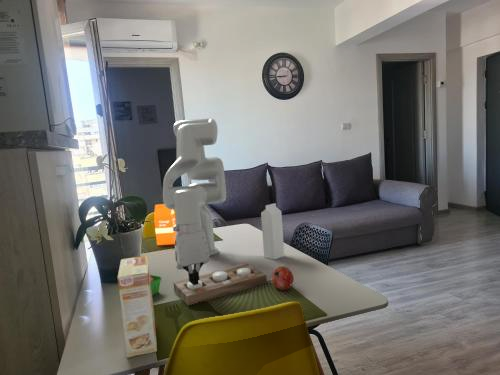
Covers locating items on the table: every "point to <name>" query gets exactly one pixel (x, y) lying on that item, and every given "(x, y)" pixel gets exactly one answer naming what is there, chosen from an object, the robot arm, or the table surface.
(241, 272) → the button end
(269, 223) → the milk
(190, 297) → the button board
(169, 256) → the table surface
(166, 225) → the orange juice
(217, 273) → the button middle
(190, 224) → the robot arm
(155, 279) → the fruit basket
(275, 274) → the pomegranate
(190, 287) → the button end
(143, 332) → the coffeecake box
